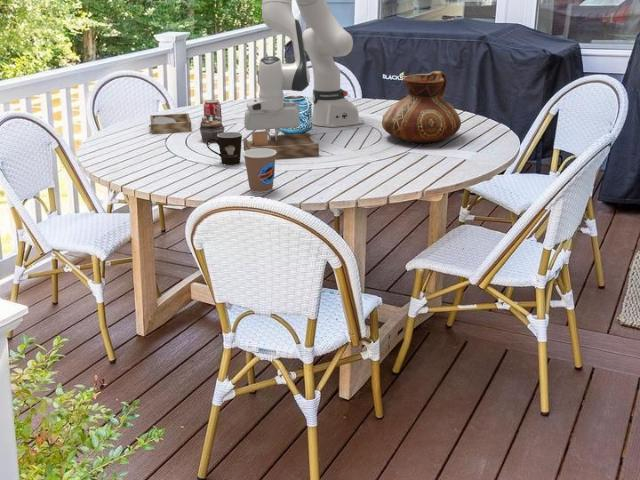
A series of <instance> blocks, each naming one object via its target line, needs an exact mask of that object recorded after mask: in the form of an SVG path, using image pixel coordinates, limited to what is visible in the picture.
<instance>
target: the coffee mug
mask: <svg viewBox="0 0 640 480" xmlns="http://www.w3.org/2000/svg"><path fill="white" fill-rule="evenodd" d="M217 138H218V140H215V139H210V140H208V141H207V143H206V147H207V148H208V149H209V151H211V152H212V153H214V154H216V155H218V156H219V158H220V161H221V165H224V164H225V165H224V166H234V165H236V164H237V165H239V164H241V156H242V154H241V153H242V143H243V142H242V140H243V133H241V132H237V131H226V132H225V131H224V133H220V134H218V135H217ZM210 141H215V142H216V143H215V144H217V146H218V149H219V152H217V151H215V150H213V149H212V148H211V147H210V146H209V144H210V143H209V142H210ZM237 165H236V166H237Z"/></svg>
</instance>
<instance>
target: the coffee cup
mask: <svg viewBox="0 0 640 480" xmlns="http://www.w3.org/2000/svg"><path fill="white" fill-rule="evenodd" d="M276 153H277V152H276V151H275V150H272V149H266V148H257V149H250V150H247V151H243V153H242V154H243V156H244V163H245V168H246V169H245V170H246V175H247V180H248V186H249V189H250V190H249V191H251V192H252V193H255V194H256V193H258V194H264V193H263V192H265V193H269V192H272V191H273V187H274V179H275V173H276V172H275V171H276V170H275V169H276V165H275V164H276V159H275V156H276V155H275V154H276Z"/></svg>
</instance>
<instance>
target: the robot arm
mask: <svg viewBox="0 0 640 480" xmlns="http://www.w3.org/2000/svg"><path fill="white" fill-rule="evenodd" d="M292 1H293V0H261V18H262V21H263V23H264V24H265V26H266V27H267V28H268V29H270V30H271V31H274V32H276V33H278V34H281V35H283V36H285V37H287V38H289V39H290V40H291V43H292V47H293V54H294V60H295V61H294V62H293V63H282V61H281V58H280V57H277V56H271V55H269V56H264V57H262V58H261V59H260V60H259V64H258V70H257V84H258V86H259V93H258V98H255V99H252V100H249V101H248V102H246V107H247V109H246V110H245V112H244V119H243V120H244V124H243V125H244V126H243V127H244V128H245V130H246V131H259V130H260V131H266V133H267V134H268V140H269V141H277V135H280V131H281V129H294V128H299V127H300V125H301V118H300V114H299V113H300V111H301V107H300V104H299V103H297V102H296V101H291V102H290V101H289V102H287V101H284V100H285V99H284V97H285V96H284V91H293V92H303V91H305V90H306V88H308V87H309V85H310V81H311V80H310V79H311V77H310V76H311V75H310V70H309V67H308V64H307V63H308V62H307V58H306V54H307V56H308V58H309V61H310V64H311V66H312V72H313V89H312V102H313V107H312V108H313V109H312V115H311V119H312V125H313V126H320V127H328V128H337V127H338V128H339V127H347V126H356V125H363V124H364V123H365V120H364V118H363V117H361V116H360V115H359V110H358V108H357V106H356V105H355V104H354V103H352V102H351V101H350V100H348V99H347V98H346V97H347V96H348V95H349V92H348V90H344V89H342V88H341V69H340V68H339V67H338V66H337V64H336V62H335V61H334V58H340V57H345V56H348V55H349V54H350V53H351V52H352V50H353V46H354V41H353V36H352V35H351V33H349V32H348V31H346V29H344V28H343V26H342V25H341V24H340V23H339V22H338V20H337V19H336V17H334V15H333V13H332V12H331V10H330V8H329V5H328V2H327V0H295V2H296V5H297V7H298V10H299V12H300V15H301V18H302V20H303V22H304V23H305V24H306V25H307V26H308V28H306V29H305V30H304V31H302V26H301V23H300V21H299V20H298V19H296V18H295V17H294V15H293V4H292V3H293V2H292ZM271 130H274V131H275V133H274V134H273V135H271V134H270V132H271Z"/></svg>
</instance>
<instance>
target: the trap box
mask: <svg viewBox="0 0 640 480" xmlns="http://www.w3.org/2000/svg"><path fill="white" fill-rule="evenodd" d="M310 135H311V134H310V132H309V133H291V134H278V135H277V141H269V139H268V145H258V146H254V144H253V143H252V140H248V139H247V137H243V142H242V143H243V144H242V145H243V150H244V151H247V150H250V149H257V148H266V149H272V150H275V151H276V152H277V153H276V154H275V155H276V156H275V160H280V159H294V158H295V159H296V158H307V157H308V158H309V157H312V158H313V157H319V156H320V152H319V151H320V144H319V143H318V142H316V143H315V142H314V141H313V140H312V138H311V136H310ZM244 151H243V152H244Z"/></svg>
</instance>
